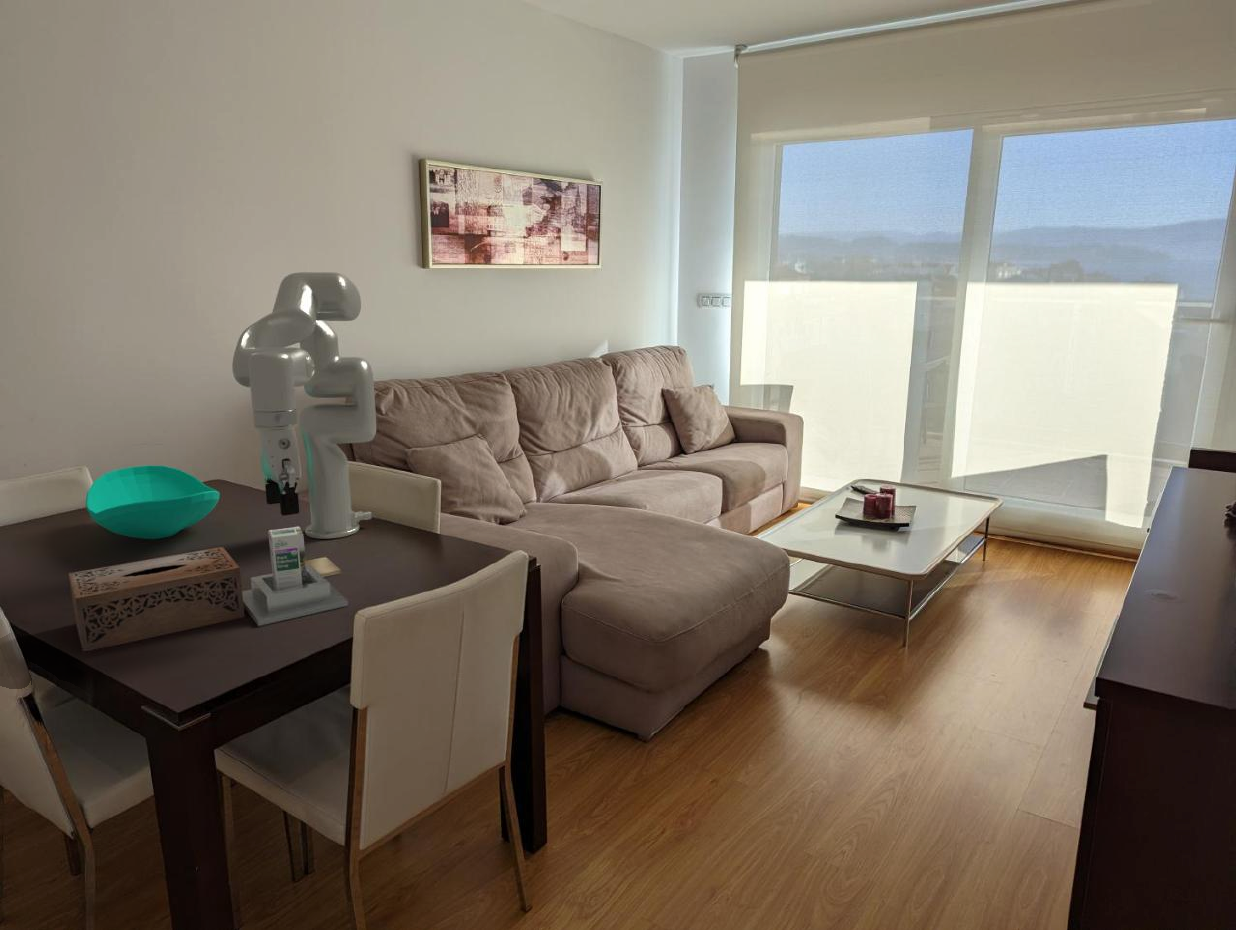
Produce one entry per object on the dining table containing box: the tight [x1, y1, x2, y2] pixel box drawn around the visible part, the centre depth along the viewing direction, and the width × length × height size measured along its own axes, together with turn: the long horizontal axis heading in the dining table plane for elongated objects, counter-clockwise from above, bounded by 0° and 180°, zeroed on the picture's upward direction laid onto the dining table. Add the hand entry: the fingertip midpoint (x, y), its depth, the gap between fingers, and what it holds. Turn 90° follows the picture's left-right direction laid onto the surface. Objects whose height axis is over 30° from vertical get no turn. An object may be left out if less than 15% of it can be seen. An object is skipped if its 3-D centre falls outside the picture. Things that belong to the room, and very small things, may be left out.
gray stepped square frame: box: [242, 566, 349, 627], centre depth 166 cm, size 16×16×4 cm
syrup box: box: [268, 525, 307, 591], centre depth 165 cm, size 6×6×14 cm
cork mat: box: [305, 556, 342, 578], centre depth 183 cm, size 10×10×1 cm
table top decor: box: [85, 464, 221, 540], centre depth 205 cm, size 40×28×13 cm
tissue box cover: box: [68, 546, 245, 652], centre depth 157 cm, size 26×14×10 cm, turn 126°
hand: (282, 508), depth 161 cm, fingers open, 9 cm apart
